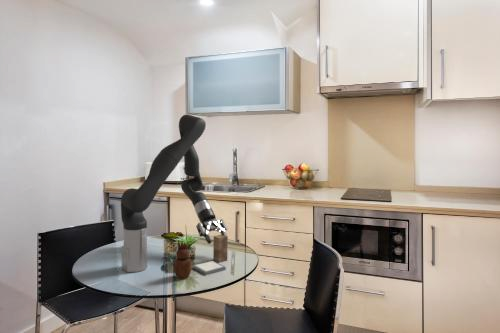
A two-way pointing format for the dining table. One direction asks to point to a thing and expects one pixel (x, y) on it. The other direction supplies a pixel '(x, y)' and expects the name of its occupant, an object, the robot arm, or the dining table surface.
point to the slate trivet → (209, 267)
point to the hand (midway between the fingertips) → (218, 241)
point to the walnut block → (220, 248)
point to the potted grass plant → (182, 262)
